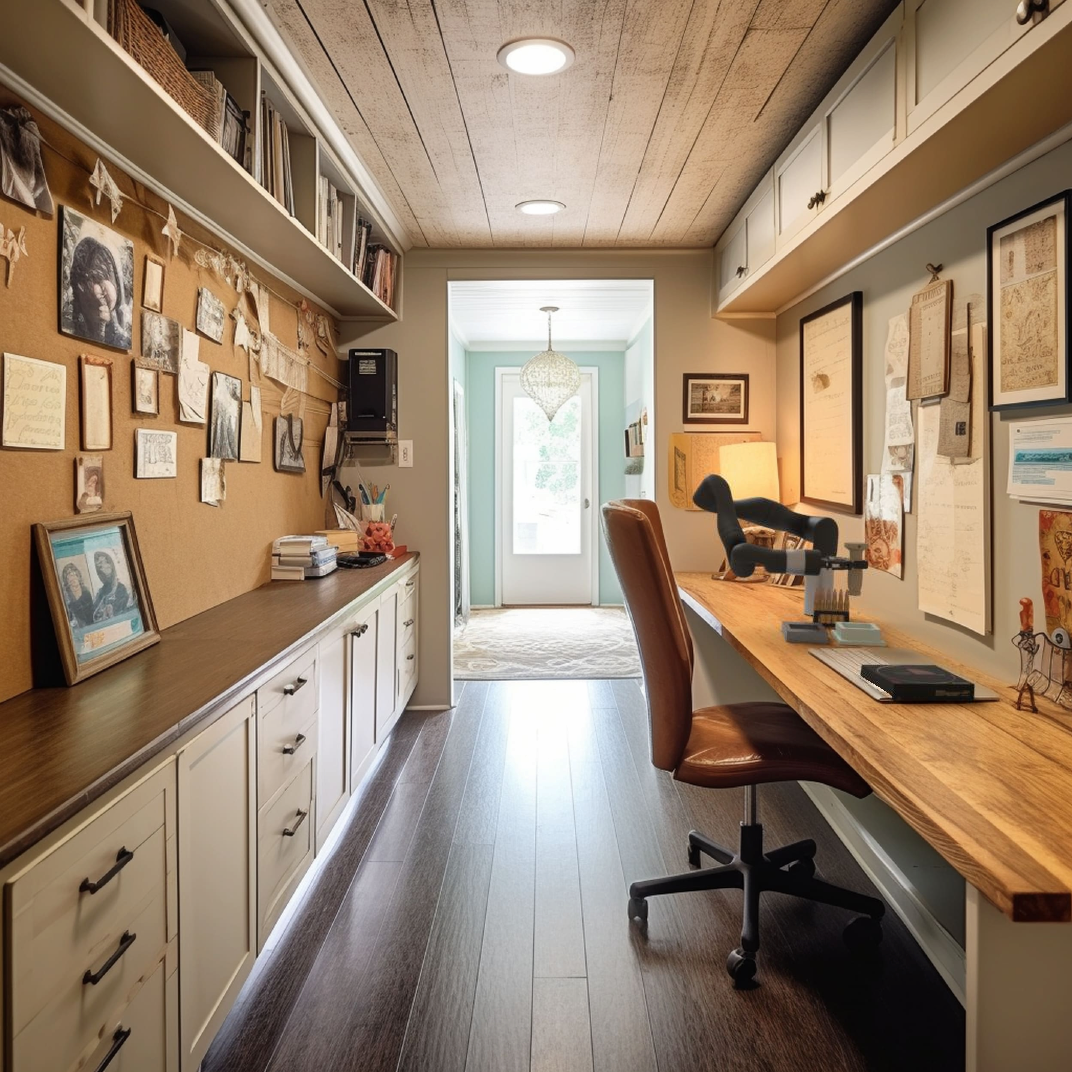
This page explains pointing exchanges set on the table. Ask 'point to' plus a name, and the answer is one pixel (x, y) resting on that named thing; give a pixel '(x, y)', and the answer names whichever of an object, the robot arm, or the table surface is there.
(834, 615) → the ammunition clip
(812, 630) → the socket block
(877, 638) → the grey shallow tray
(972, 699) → the portable cd player
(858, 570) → the handle
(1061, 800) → the table surface
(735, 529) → the robot arm
